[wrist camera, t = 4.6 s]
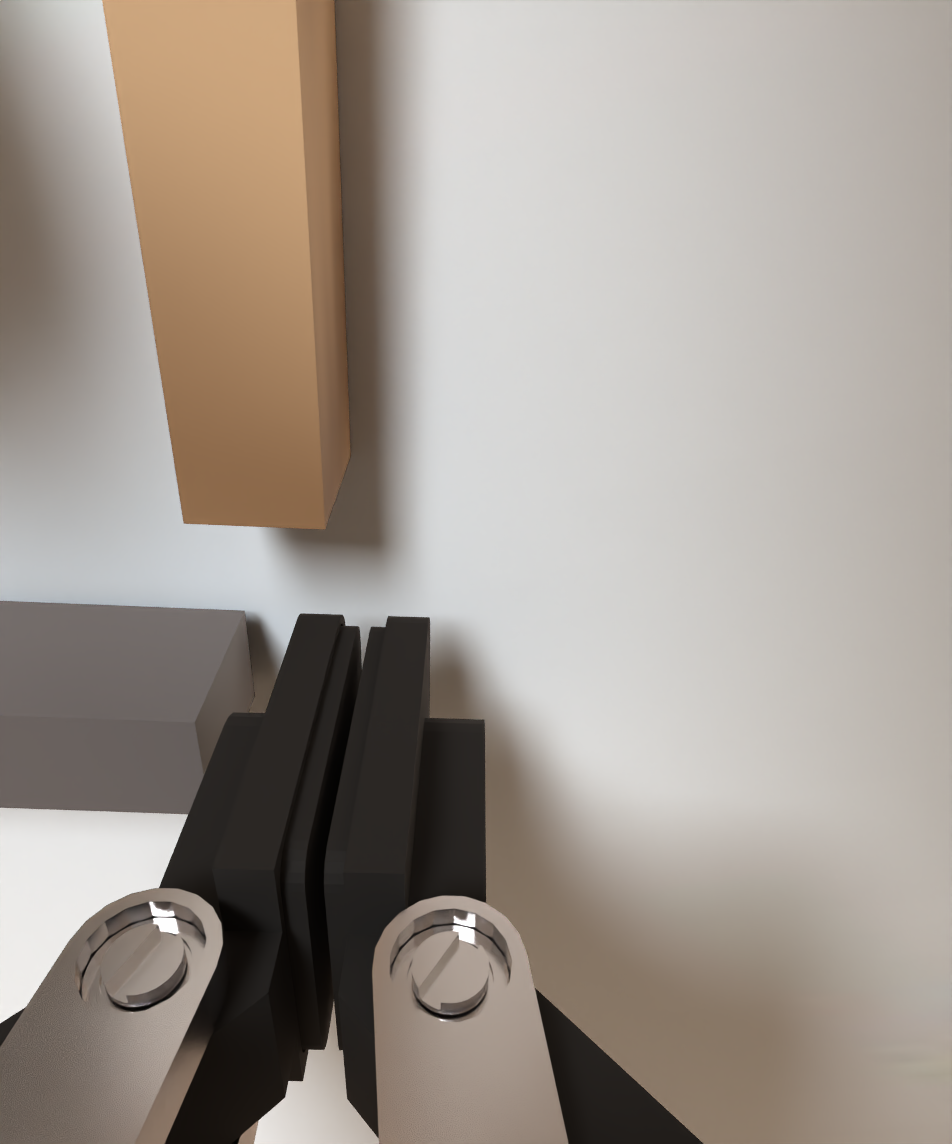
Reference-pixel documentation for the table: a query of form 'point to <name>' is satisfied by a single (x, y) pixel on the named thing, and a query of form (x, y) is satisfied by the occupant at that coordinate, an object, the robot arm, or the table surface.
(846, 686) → the table surface
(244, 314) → the wooden u-shaped frame
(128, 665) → the bar
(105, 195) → the table surface
